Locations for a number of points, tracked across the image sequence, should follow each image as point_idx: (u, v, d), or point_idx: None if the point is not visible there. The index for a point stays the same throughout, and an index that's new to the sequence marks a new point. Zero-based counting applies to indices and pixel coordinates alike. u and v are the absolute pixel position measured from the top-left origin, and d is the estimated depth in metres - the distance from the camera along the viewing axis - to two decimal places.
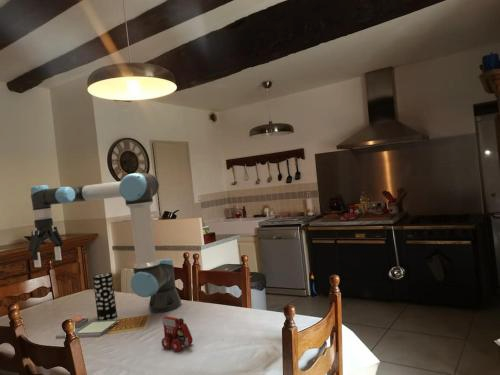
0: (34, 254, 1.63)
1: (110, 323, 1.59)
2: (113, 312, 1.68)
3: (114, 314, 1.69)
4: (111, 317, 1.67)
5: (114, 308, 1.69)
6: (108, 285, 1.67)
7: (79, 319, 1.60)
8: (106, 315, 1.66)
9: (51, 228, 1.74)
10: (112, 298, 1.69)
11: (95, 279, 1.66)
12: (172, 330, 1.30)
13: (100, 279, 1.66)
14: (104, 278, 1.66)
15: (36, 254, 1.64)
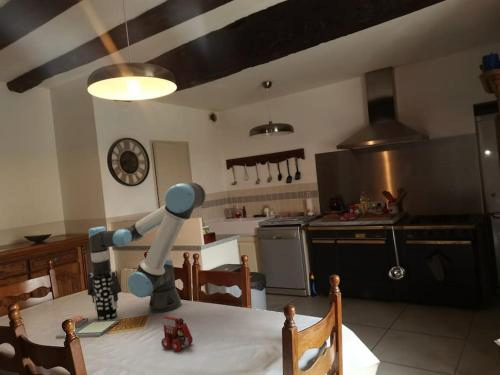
0: None
1: (110, 323, 1.59)
2: (113, 312, 1.68)
3: (114, 314, 1.69)
4: (111, 317, 1.67)
5: None
6: (108, 285, 1.67)
7: (79, 319, 1.60)
8: (106, 315, 1.66)
9: (107, 272, 1.68)
10: None
11: (95, 279, 1.66)
12: (172, 330, 1.30)
13: (100, 279, 1.66)
14: (104, 278, 1.66)
15: (93, 297, 1.70)
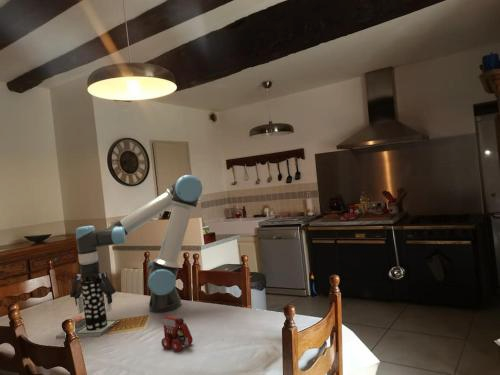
0: None
1: (110, 323, 1.59)
2: (103, 321, 1.55)
3: (104, 322, 1.55)
4: (101, 326, 1.54)
5: (104, 316, 1.56)
6: (98, 291, 1.54)
7: (79, 319, 1.60)
8: (95, 324, 1.53)
9: (95, 274, 1.55)
10: (102, 305, 1.55)
11: (83, 285, 1.53)
12: (172, 330, 1.30)
13: (88, 285, 1.52)
14: (93, 283, 1.53)
15: (76, 299, 1.57)
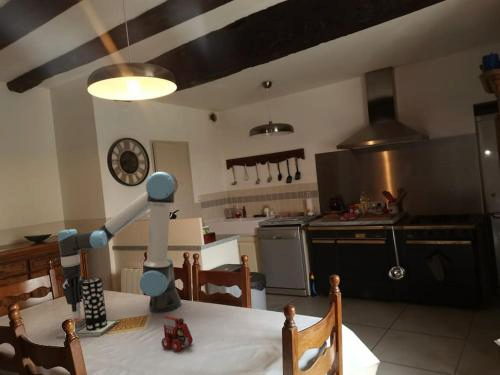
0: (73, 305, 1.59)
1: (110, 323, 1.59)
2: (103, 321, 1.55)
3: (104, 323, 1.55)
4: (101, 326, 1.54)
5: (104, 316, 1.56)
6: (98, 291, 1.54)
7: (79, 320, 1.60)
8: (95, 324, 1.53)
9: (79, 274, 1.64)
10: (102, 305, 1.55)
11: (83, 285, 1.53)
12: (172, 330, 1.30)
13: (89, 285, 1.52)
14: (93, 284, 1.53)
15: (75, 305, 1.60)
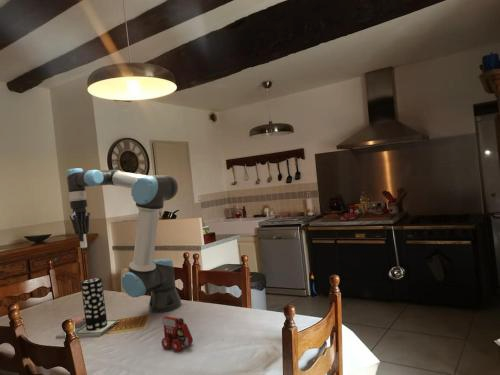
0: (80, 236, 1.79)
1: (110, 323, 1.59)
2: (103, 321, 1.55)
3: (104, 323, 1.55)
4: (101, 326, 1.54)
5: (104, 316, 1.56)
6: (98, 291, 1.54)
7: (79, 321, 1.60)
8: (95, 324, 1.53)
9: (85, 210, 1.84)
10: (102, 305, 1.55)
11: (83, 285, 1.53)
12: (172, 330, 1.30)
13: (88, 285, 1.52)
14: (93, 284, 1.53)
15: (82, 236, 1.79)
